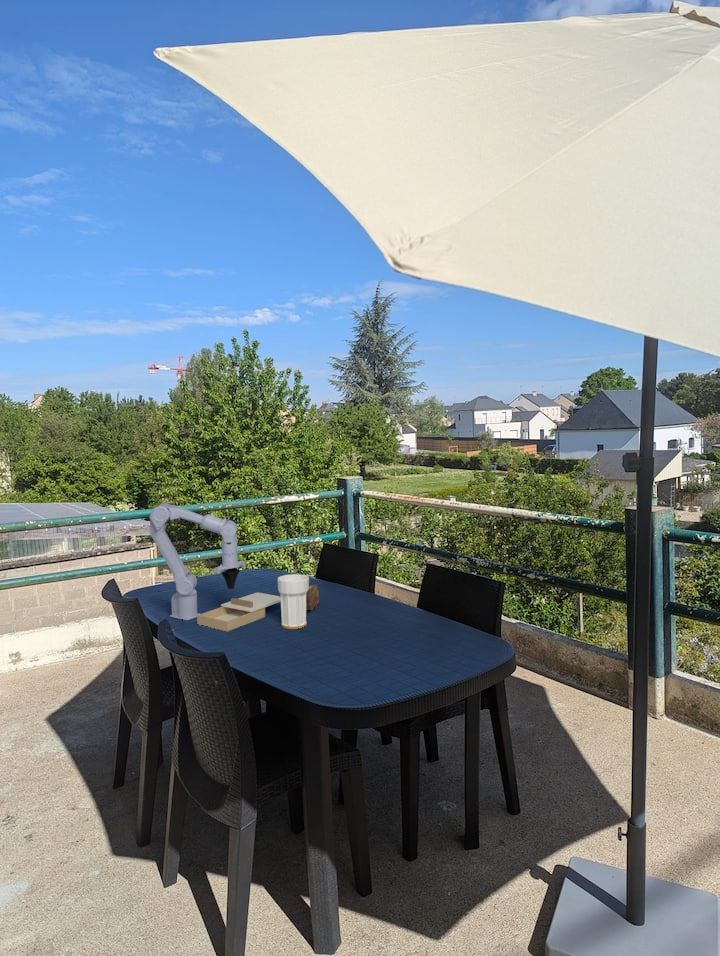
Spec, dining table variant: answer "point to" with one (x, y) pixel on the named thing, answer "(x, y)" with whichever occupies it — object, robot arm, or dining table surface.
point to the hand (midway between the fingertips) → (230, 588)
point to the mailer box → (228, 618)
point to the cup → (293, 600)
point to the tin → (312, 597)
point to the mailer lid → (252, 602)
